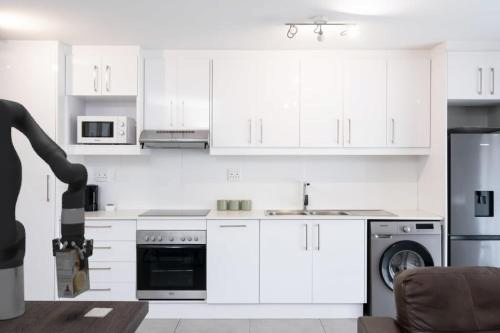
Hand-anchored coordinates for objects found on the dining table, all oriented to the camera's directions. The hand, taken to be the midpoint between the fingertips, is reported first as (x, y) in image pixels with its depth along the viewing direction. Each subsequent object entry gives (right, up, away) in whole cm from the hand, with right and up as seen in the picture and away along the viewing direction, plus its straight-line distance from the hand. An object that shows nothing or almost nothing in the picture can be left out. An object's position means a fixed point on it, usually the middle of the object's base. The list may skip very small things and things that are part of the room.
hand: (72, 269), depth 131 cm
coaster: (+8, -16, +3) cm, 18 cm away
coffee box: (0, -9, 0) cm, 9 cm away
